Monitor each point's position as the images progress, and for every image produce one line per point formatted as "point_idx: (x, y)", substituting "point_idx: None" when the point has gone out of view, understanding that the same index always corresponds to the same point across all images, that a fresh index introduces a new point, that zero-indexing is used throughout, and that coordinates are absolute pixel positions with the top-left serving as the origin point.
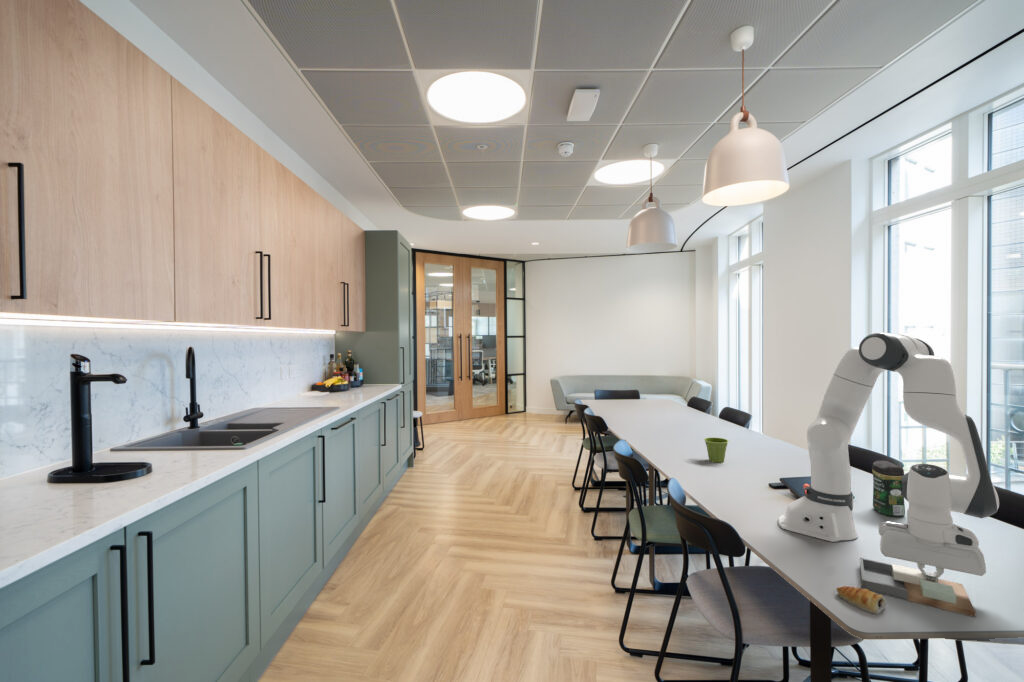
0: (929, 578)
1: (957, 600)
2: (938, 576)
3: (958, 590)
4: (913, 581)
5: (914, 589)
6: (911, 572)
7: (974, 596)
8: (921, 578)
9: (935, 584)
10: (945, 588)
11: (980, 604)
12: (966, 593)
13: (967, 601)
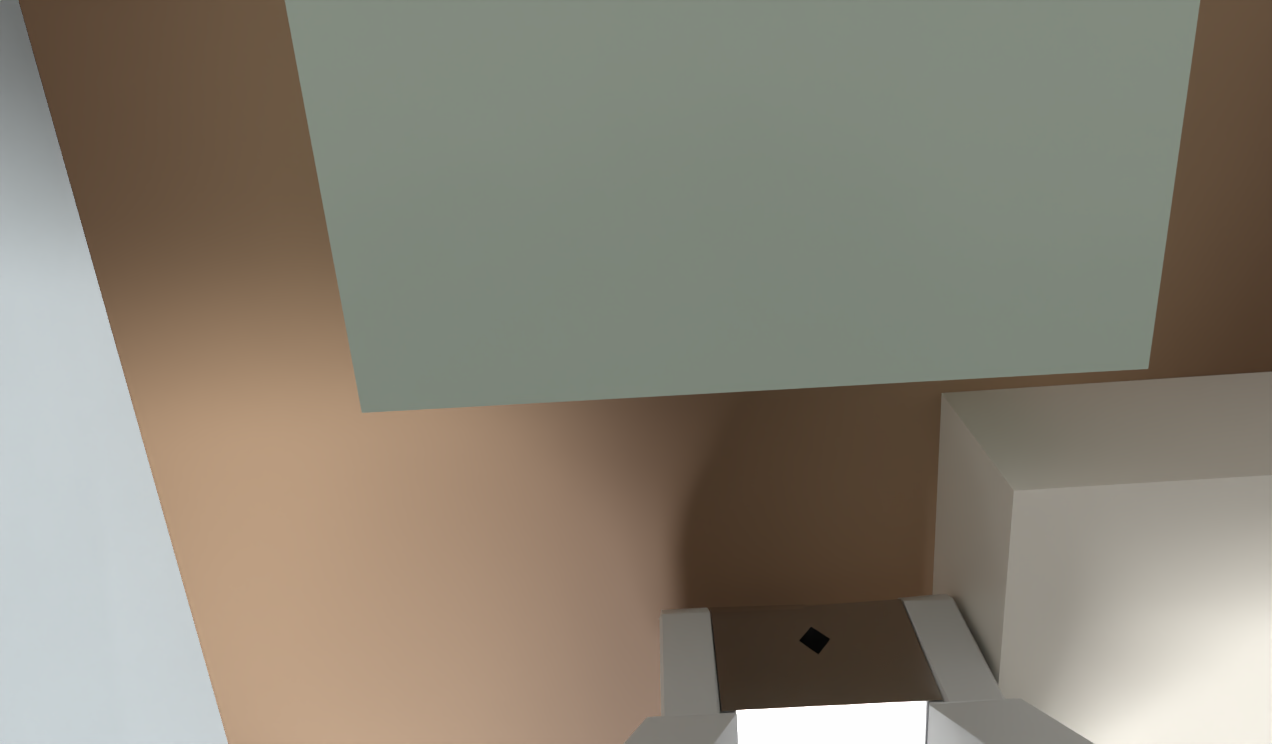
0: (841, 646)
1: None
2: (652, 739)
3: (310, 596)
4: (1187, 401)
5: (1227, 14)
6: (1254, 688)
7: (130, 660)
8: (1068, 479)
9: (769, 250)
10: (520, 105)
11: (12, 392)
12: (176, 551)
13: (117, 119)
